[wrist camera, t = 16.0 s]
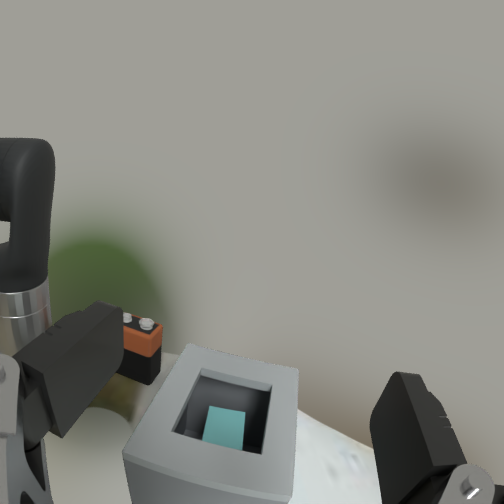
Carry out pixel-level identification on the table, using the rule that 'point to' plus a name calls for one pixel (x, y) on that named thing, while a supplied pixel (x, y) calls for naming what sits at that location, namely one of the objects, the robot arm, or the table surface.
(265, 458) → the slot box
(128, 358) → the battery
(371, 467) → the table surface
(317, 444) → the table surface
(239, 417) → the teal rectangular block
